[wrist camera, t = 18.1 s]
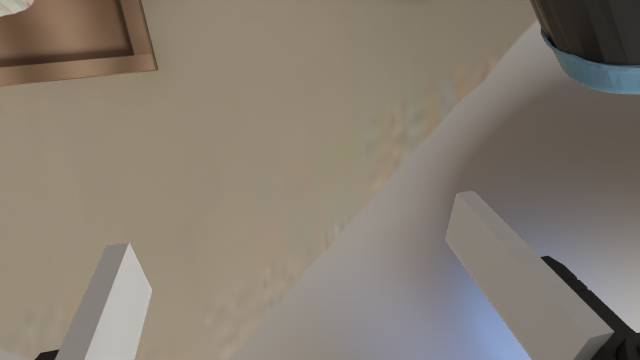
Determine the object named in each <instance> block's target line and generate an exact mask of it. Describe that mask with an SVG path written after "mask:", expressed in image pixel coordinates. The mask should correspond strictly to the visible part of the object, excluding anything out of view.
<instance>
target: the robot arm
mask: <svg viewBox="0 0 640 360" xmlns="http://www.w3.org/2000/svg"><path fill="white" fill-rule="evenodd" d="M530 1H531V4H532V6H533V9H534V11H535V13H536V16H537V18H538V21H539V23H540V25H541V35H542V37H543V39H544V41H545V42H546V44H547V45H548V46H549V47H550V48H551V49H552V50H553V51H554V54H555V55H556V57H557V59H558V61H559V63H560V65H561V67H562V69H563V70H564V71H565V73H566V74H567V75H568V76H569V77H571V78H573V79H575V80H577V81H578V82H579V83H580V84H582V85H584V86H586V87H589V88H592V89H596V90H599V91H604V92H611V93H619V94H640V0H530ZM445 241H446V242H447V243H448V245H449V246H450V248H451V249H452V250H453V252H454V253H455V255H456V256H457V257H458V259H459V260H460V261H461V263H462V264H463V266H464V267H465V268H466V270H467V271H468V272H469V274H470V275H471V276H472V278H473V279H474V281H475V282H476V283H477V285H478V286H479V288H480V289H481V290H482V292H483V293H484V294H485V296H486V297H487V299H488V300H489V301H490V303H491V304H492V305H493V307H494V308H495V309H496V311H497V312H498V314H499V315H500V316H501V318H502V319H503V321H504V322H505V323H506V325H507V326H508V327H509V329H510V330H511V332H512V333H513V334H514V336H515V337H516V338H517V340H518V341H519V343H520V344H521V345H522V346H523V348H524V349H525V350H526V352H527V353H528V355H529V356H530V358H531V359H532V360H640V333H636V332H635V331H633V330H632V329H631V328H630V327H629V326H628V325H626V324H625V323H624V322H623V321H622V320H621V319H620V318H619V317H618V316H617V315H616V314H615V313H614V312H613V311H612V310H611V309H609V307H608V306H606V305H605V304H604V303H603V302H602V301H601V300H600V299H599V298H598V297H597V296H596V295H595V294H594V293H593V292H592V291H591V290H588V289H587V287H586V286H585V285H584V284H583V283H582V282H581V281H580V280H577V277H576V276H575V275H574V274H573V273H572V272H571V271H569V270H568V269H567V268H566V267H565V266H564V265H563V264H561V263H559V262H558V261H556V260H554V259H553V258H551V257H549V256H544V257H539V256H538V255H537V254H536V253H535V252H534V251H533V250H532V249H531V248H530V247H529V246H528V245H527V244H526V243H525V242H524V241H523V240H522V239H521V238H520V237H519V236H518V235H517V234H516V233H515V232H514V231H513V230H512V229H511V228H510V227H509V226H508V225H507V224H506V223H505V222H504V221H503V220H502V219H501V218H500V217H499V216H498V215H497V214H496V213H495V212H494V211H493V210H492V209H491V208H490V207H489V206H488V205H487V204H486V203H485V202H484V201H483V200H482V199H481V198H480V197H479V196H478V195H477V194H476V193H475V192H474V191H467V192H461V193H457V194H456V198H455V202H454V206H453V210H452V214H451V218H450V222H449V226H448V230H447V234H446V238H445ZM151 293H152V289H151V287H150V285H149V283H148V281H147V279H146V277H145V275H144V272H143V270H142V268H141V266H140V264H139V262H138V260H137V258H136V256H135V254H134V252H133V249H132V247H131V245H130V243H129V242H128V243H122V244H115V245H108V246H106V248H105V251H104V253H103V255H102V257H101V259H100V262H99V264H98V266H97V268H96V270H95V273H94V275H93V277H92V279H91V281H90V284H89V286H88V288H87V290H86V292H85V295H84V297H83V299H82V301H81V303H80V306H79V308H78V310H77V312H76V314H75V317H74V319H73V321H72V323H71V325H70V328H69V330H68V332H67V334H66V336H65V339H64V341H63V343H62V345H61V347H60V349H59V350H54V351H49V352H43V353H40V354H39V356H38V357H37V358H36V359H35V360H134V359H135V355H136V351H137V347H138V343H139V340H140V336H141V332H142V328H143V324H144V320H145V316H146V312H147V309H148V305H149V301H150V297H151Z"/></svg>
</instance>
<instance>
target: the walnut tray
mask: <svg viewBox="0 0 640 360" xmlns="http://www.w3.org/2000/svg"><path fill="white" fill-rule="evenodd" d="M155 70H158V67H157V63H156V59H155V55H154V51H153V47H152V43H151V39H150V35H149V31H148V27H147V23H146V19H145V15H144V11H143V7H142V3H141V0H36V1H35V2H34V3H33V4H32V5H31V6H30V7H29V8H27V9H26V10H23V11H20V12H17V13H15V14H10V15H4V16H1V17H0V86H8V85H17V84H27V83H37V82H47V81H57V80H67V79H76V78H86V77H96V76H106V75H116V74H126V73H135V72H145V71H155Z"/></svg>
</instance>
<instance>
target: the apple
mask: <svg viewBox="0 0 640 360" xmlns="http://www.w3.org/2000/svg"><path fill="white" fill-rule="evenodd" d="M35 1H36V0H0V17H1V16H4V15H10V14H15V13H17V12H20V11H23V10H26V9H27V8H29V7H30V6H31V5H32V4H33V3H34V2H35Z"/></svg>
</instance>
